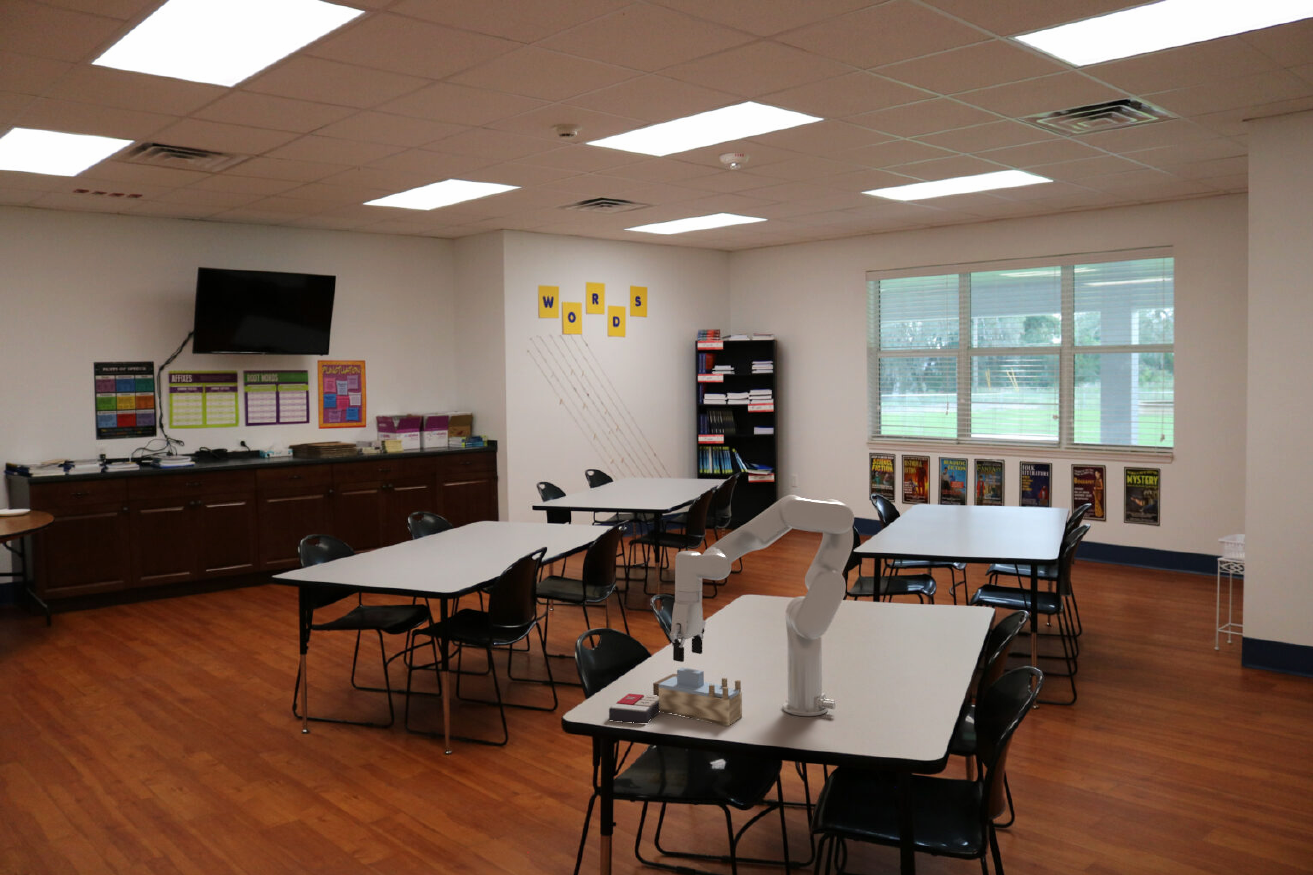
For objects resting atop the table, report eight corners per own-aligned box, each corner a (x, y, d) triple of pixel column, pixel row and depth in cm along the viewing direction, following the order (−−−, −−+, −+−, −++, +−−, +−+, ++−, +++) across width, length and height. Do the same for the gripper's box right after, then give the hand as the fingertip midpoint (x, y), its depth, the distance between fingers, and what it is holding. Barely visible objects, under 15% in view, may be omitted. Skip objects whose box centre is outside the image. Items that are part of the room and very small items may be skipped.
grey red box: (663, 695, 264) (646, 709, 250) (663, 710, 264) (646, 725, 250) (627, 691, 268) (608, 705, 254) (627, 706, 268) (608, 721, 254)
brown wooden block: (680, 687, 282) (679, 674, 282) (660, 697, 273) (659, 684, 273) (673, 686, 283) (673, 673, 283) (653, 696, 274) (653, 683, 274)
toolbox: (742, 717, 255) (741, 680, 254) (727, 726, 248) (727, 688, 247) (674, 703, 267) (673, 668, 266) (659, 711, 260) (658, 676, 260)
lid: (741, 692, 254) (741, 674, 254) (727, 700, 248) (727, 682, 247) (673, 679, 266) (673, 662, 266) (658, 687, 260) (658, 669, 259)
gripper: (693, 589, 267) (692, 648, 267) (660, 599, 252) (659, 661, 253) (715, 592, 263) (715, 652, 263) (683, 603, 248) (683, 666, 249)
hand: (687, 656), depth 258 cm, fingers open, 9 cm apart
